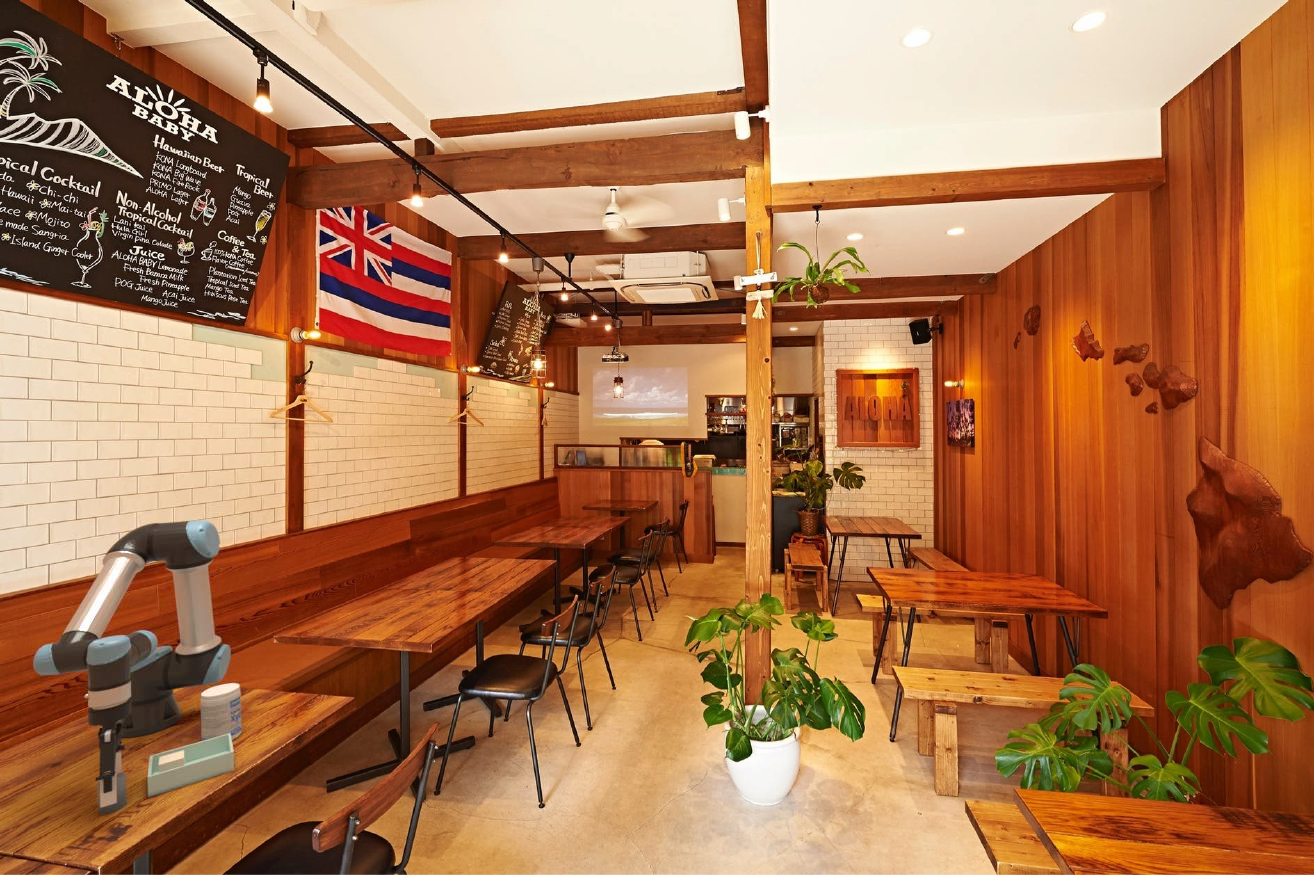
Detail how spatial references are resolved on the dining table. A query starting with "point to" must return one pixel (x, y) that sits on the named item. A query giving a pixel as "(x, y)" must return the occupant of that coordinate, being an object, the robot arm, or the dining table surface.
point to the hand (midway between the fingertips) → (111, 792)
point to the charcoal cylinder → (120, 796)
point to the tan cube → (171, 761)
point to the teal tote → (192, 764)
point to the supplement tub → (221, 711)
